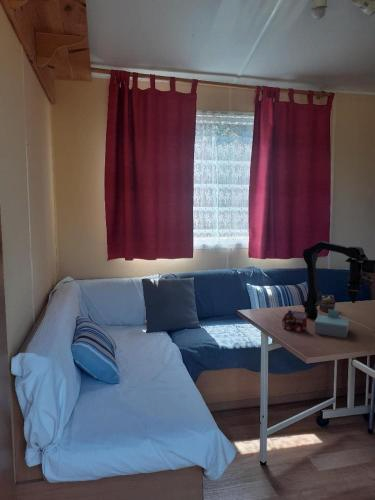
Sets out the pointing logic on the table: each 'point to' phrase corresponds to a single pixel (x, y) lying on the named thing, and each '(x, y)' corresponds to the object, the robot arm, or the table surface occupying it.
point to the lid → (332, 319)
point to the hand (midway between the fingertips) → (353, 301)
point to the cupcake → (327, 303)
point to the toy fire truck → (295, 321)
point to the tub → (331, 330)
